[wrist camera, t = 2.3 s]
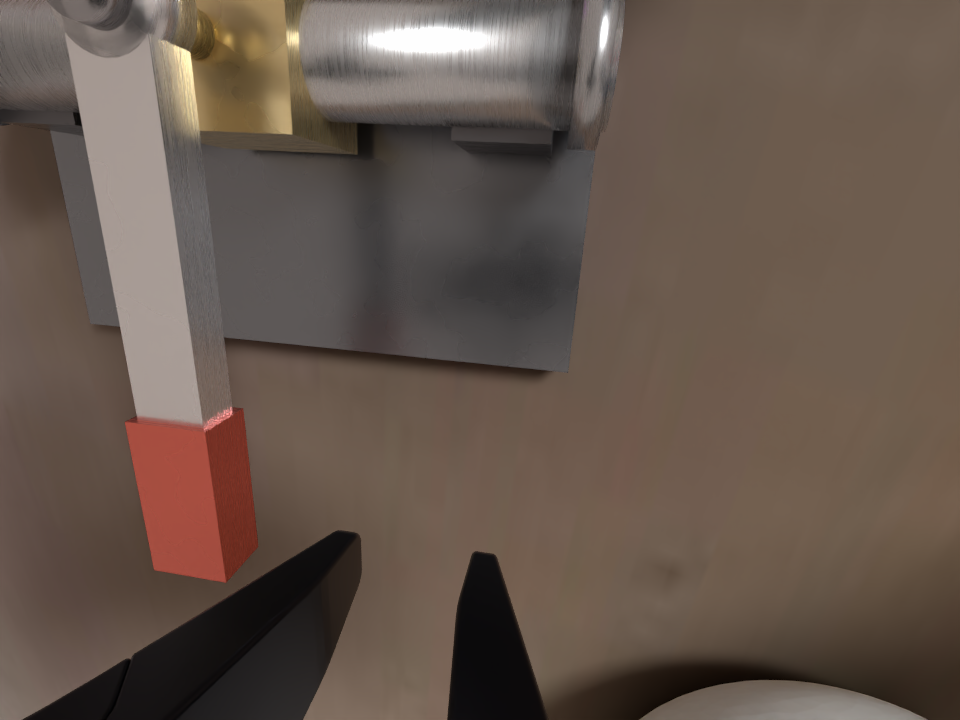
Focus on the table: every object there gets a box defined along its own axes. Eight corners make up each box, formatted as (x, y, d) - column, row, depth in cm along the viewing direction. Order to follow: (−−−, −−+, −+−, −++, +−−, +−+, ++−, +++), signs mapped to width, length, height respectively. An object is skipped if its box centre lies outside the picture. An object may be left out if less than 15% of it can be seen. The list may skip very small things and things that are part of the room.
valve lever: (93, -54, 11) (-7, -112, 9) (195, -55, 10) (116, -116, 8) (190, 535, 16) (140, 579, 14) (261, 546, 15) (220, 593, 13)
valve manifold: (642, -267, 14) (748, -834, 6) (566, 361, 20) (575, 449, 13) (17, -223, 17) (-423, -583, 9) (119, 316, 23) (-96, 366, 15)
